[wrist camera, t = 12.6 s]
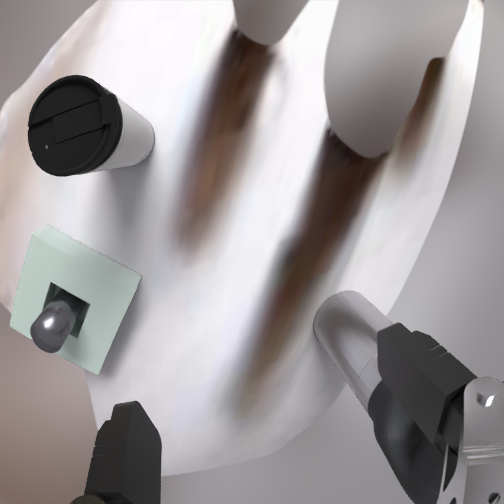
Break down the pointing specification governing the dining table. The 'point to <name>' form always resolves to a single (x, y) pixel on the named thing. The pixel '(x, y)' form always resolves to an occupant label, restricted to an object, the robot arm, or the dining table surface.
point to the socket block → (74, 293)
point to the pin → (56, 321)
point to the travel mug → (86, 129)
